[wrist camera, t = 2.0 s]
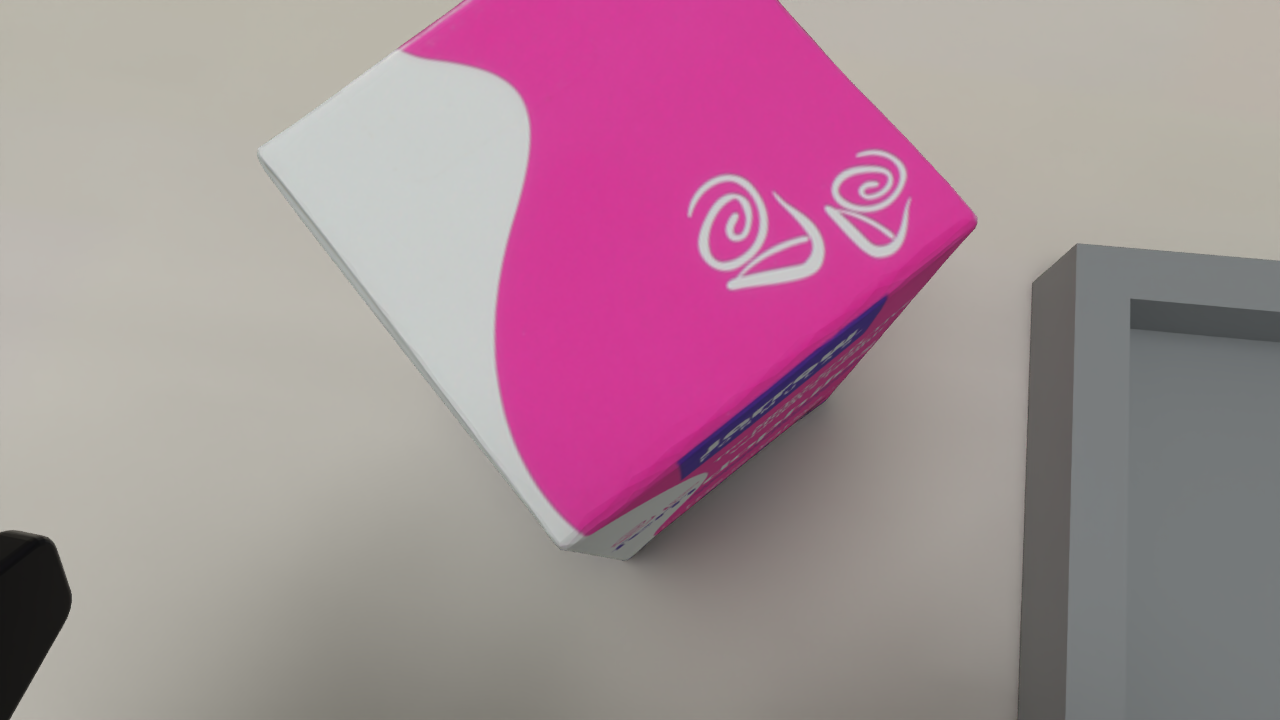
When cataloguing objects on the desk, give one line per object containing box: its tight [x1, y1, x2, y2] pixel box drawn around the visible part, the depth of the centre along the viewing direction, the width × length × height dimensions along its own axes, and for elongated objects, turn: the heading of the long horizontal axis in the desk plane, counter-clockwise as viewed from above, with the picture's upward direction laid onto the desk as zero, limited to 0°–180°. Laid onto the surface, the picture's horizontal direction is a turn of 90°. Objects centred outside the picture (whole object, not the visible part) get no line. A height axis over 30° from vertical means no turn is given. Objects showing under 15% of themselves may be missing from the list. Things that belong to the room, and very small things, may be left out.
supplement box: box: [257, 0, 977, 561], centre depth 16 cm, size 6×6×12 cm
